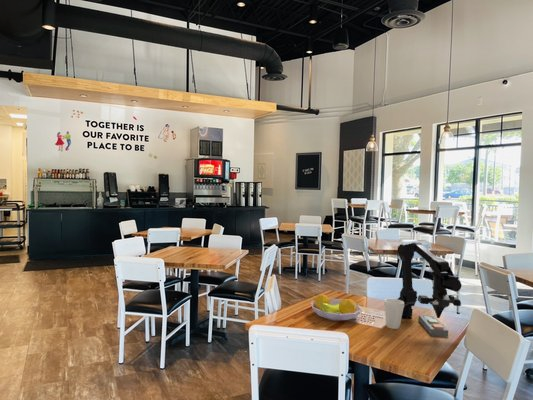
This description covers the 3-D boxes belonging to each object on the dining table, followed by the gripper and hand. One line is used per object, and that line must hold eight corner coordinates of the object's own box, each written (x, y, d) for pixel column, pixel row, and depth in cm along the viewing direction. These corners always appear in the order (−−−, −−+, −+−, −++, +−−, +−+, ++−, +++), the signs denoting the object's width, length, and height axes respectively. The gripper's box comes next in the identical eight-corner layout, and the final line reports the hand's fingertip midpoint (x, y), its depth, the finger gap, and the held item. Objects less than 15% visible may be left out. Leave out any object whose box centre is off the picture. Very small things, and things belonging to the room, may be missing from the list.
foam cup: (402, 324, 196) (404, 300, 195) (402, 331, 187) (404, 305, 186) (383, 322, 199) (384, 297, 198) (382, 328, 190) (384, 302, 189)
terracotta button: (434, 330, 184) (434, 326, 184) (431, 327, 188) (432, 323, 188) (443, 331, 184) (443, 327, 184) (440, 327, 188) (440, 324, 188)
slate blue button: (425, 322, 198) (425, 318, 198) (423, 319, 202) (423, 316, 202) (433, 322, 198) (433, 319, 197) (430, 319, 202) (431, 316, 201)
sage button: (429, 325, 191) (430, 321, 191) (427, 322, 195) (427, 318, 195) (438, 325, 191) (438, 322, 190) (435, 322, 195) (435, 319, 194)
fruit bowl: (335, 305, 223) (336, 286, 222) (371, 320, 200) (372, 299, 200) (297, 313, 207) (298, 292, 207) (332, 330, 185) (333, 307, 184)
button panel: (430, 335, 183) (431, 329, 183) (418, 320, 203) (418, 315, 203) (448, 336, 182) (448, 330, 182) (434, 321, 202) (434, 316, 202)
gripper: (425, 289, 179) (423, 322, 179) (466, 291, 177) (465, 324, 178) (418, 283, 190) (416, 314, 190) (456, 285, 188) (455, 317, 189)
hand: (438, 317), depth 187 cm, fingers closed
